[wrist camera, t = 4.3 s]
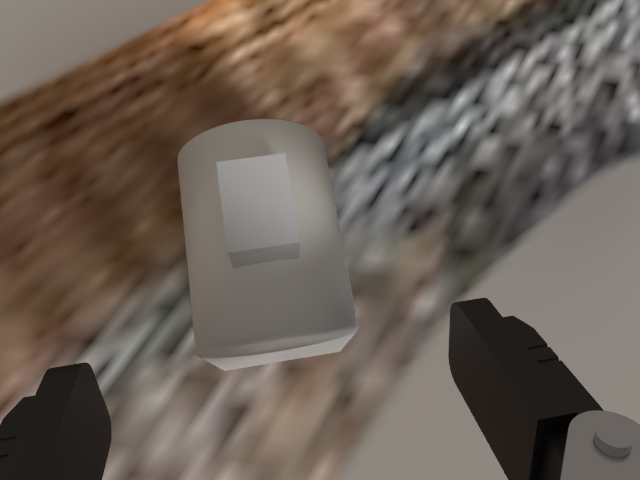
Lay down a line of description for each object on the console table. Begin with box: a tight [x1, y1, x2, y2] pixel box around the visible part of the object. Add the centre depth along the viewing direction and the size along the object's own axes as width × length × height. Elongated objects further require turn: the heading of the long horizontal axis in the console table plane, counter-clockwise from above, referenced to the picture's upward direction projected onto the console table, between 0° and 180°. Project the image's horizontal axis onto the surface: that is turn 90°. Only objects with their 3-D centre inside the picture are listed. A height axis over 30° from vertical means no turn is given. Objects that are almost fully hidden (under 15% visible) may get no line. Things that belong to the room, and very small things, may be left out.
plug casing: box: [177, 119, 359, 371], centre depth 16 cm, size 4×6×9 cm
